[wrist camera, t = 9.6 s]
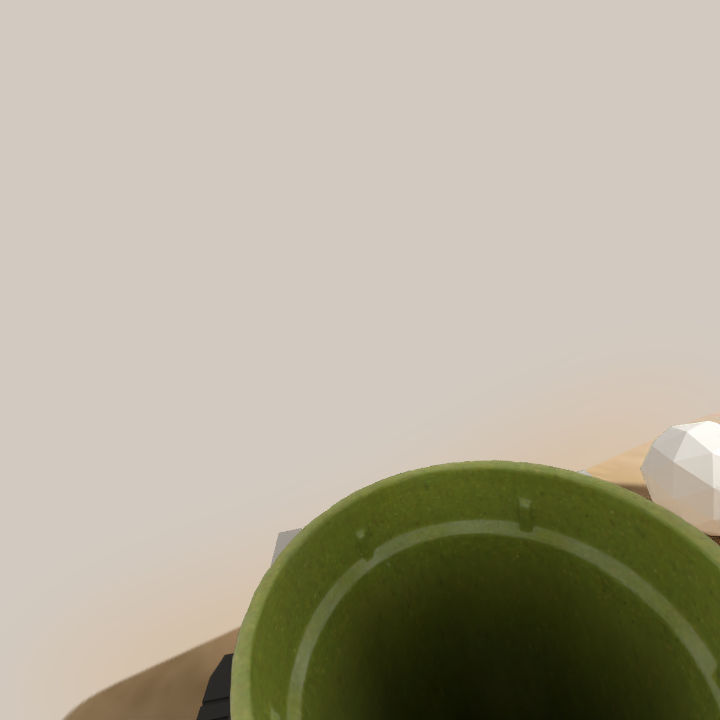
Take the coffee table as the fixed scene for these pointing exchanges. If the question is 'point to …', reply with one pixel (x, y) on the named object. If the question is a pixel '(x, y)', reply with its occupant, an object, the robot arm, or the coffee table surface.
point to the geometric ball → (687, 474)
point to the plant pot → (486, 605)
